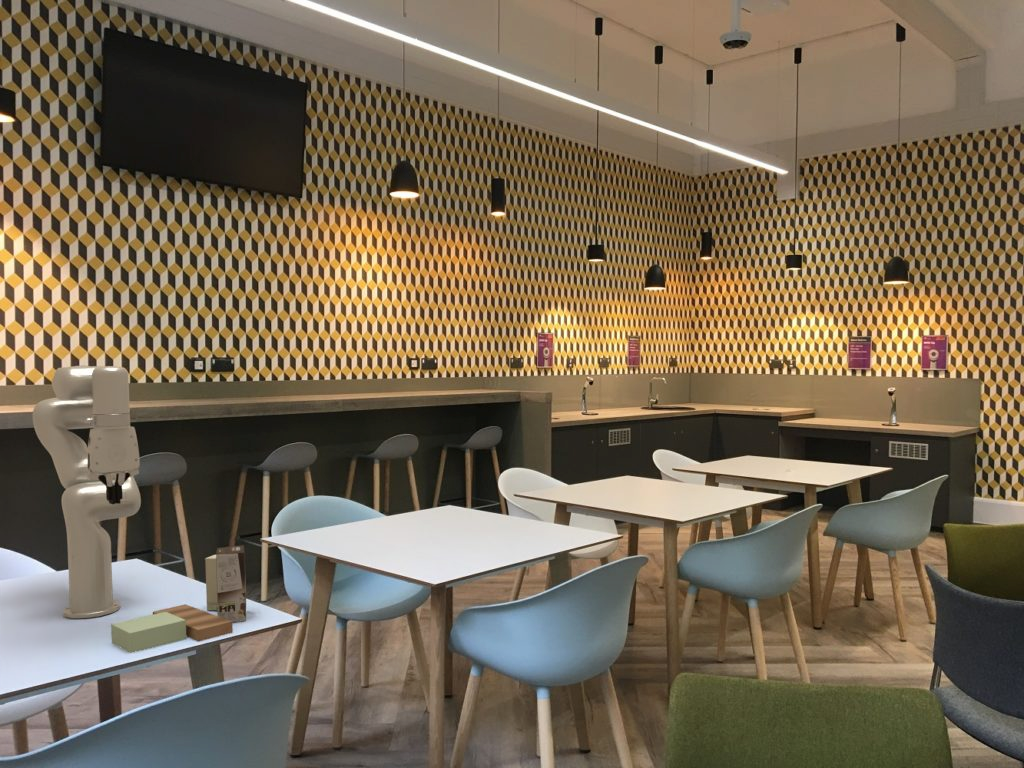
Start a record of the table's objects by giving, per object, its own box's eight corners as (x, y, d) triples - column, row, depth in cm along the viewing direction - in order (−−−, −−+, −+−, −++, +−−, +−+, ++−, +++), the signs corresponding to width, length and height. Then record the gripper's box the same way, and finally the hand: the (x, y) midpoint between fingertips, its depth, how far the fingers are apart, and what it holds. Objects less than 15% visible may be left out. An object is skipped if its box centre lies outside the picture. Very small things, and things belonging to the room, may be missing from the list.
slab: (111, 644, 188) (111, 624, 188) (166, 631, 197) (165, 611, 196) (130, 654, 181) (129, 633, 181) (186, 640, 190) (185, 620, 189)
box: (222, 611, 210) (220, 558, 210) (206, 610, 211) (204, 558, 211) (233, 605, 216) (232, 553, 215) (217, 604, 216) (215, 553, 216)
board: (153, 624, 203) (152, 611, 203) (185, 616, 208) (185, 604, 208) (198, 643, 188) (198, 629, 187) (232, 634, 193) (232, 621, 193)
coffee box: (246, 621, 202) (244, 552, 201) (217, 624, 200) (215, 554, 199) (247, 610, 210) (244, 544, 210) (219, 613, 209) (216, 546, 208)
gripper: (80, 424, 187) (83, 509, 188) (151, 420, 197) (154, 501, 197) (71, 423, 193) (74, 505, 194) (140, 419, 203) (143, 497, 203)
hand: (114, 503), depth 196 cm, fingers closed
